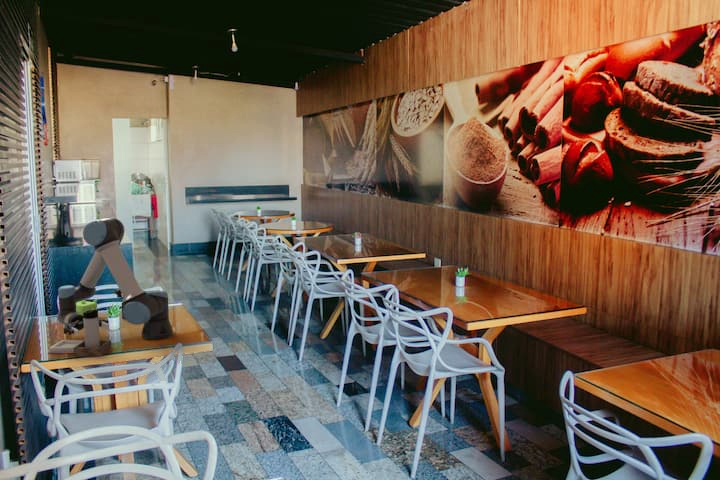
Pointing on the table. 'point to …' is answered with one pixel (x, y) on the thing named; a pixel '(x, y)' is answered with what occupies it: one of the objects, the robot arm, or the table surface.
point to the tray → (65, 346)
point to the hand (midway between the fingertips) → (93, 330)
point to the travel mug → (91, 328)
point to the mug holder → (92, 349)
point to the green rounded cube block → (85, 306)
